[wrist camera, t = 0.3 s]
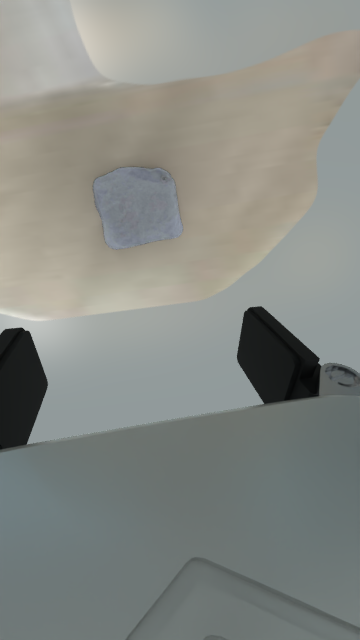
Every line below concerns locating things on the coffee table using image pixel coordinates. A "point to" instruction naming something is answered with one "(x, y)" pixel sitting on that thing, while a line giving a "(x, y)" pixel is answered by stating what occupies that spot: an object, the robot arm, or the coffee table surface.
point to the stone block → (137, 206)
